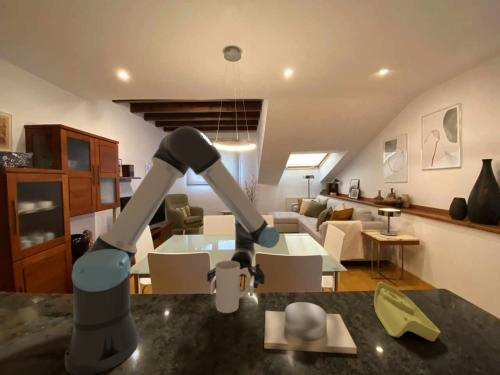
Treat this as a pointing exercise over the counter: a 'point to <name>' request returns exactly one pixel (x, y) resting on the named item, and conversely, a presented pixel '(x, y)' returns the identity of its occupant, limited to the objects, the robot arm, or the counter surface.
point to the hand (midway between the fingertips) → (231, 290)
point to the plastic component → (401, 314)
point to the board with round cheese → (307, 330)
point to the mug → (229, 285)
